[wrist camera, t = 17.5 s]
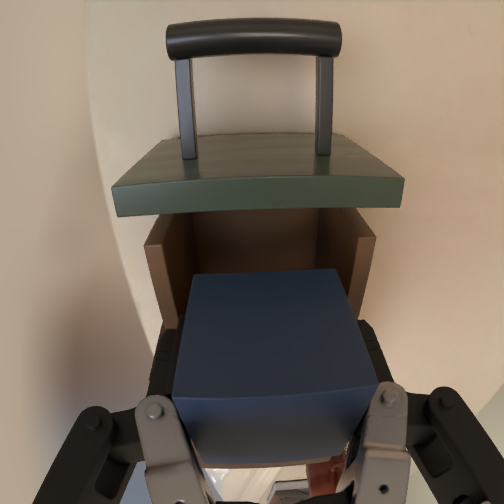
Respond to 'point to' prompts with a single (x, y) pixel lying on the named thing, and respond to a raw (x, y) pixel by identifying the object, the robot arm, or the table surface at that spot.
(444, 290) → the table surface
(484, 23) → the table surface
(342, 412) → the block
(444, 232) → the table surface
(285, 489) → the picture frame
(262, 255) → the drawer
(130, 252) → the table surface
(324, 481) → the mug
